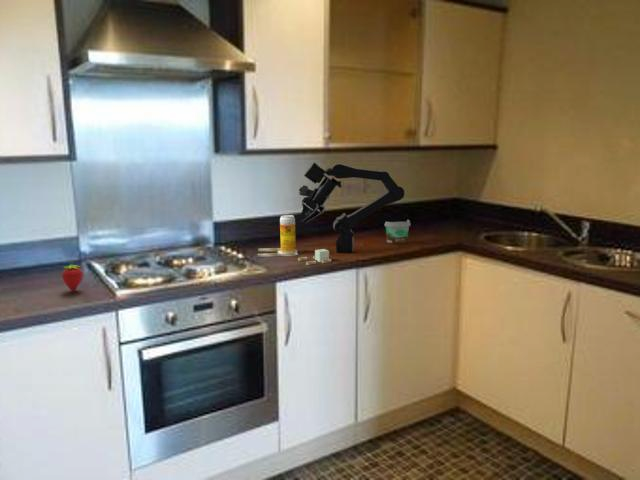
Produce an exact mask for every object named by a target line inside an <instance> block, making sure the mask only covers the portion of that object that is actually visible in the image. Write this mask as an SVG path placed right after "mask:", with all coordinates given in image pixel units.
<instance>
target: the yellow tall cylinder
mask: <svg viewBox="0 0 640 480" xmlns="http://www.w3.org/2000/svg"><path fill="white" fill-rule="evenodd" d="M279 229H280V230H279V231H280V232H279V233H280V248H281V251H282V253H294V252H295V251H296V250H297V249H296V248H297V245H296V218H295V216H294V215H293V214H284V215H280V218H279Z"/></svg>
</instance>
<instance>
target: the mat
mask: <svg viewBox="0 0 640 480" xmlns="http://www.w3.org/2000/svg"><path fill="white" fill-rule="evenodd" d="M277 253H282V251H277ZM294 253H295V256H298V255H299V253H298V250H297V249H296V251H295V252H294Z"/></svg>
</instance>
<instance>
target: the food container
mask: <svg viewBox="0 0 640 480" xmlns="http://www.w3.org/2000/svg"><path fill="white" fill-rule="evenodd" d="M384 227H385V232H386V233H385V234H386V235H385V236H386V244H387V243H388V245H392V244H403V245H406V243H407V244H408V237H409V230H410V227H411V221H410V220H409V219H407V220H405V221H385V223H384Z"/></svg>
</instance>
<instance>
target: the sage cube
mask: <svg viewBox="0 0 640 480" xmlns="http://www.w3.org/2000/svg"><path fill="white" fill-rule="evenodd" d="M314 256H315V259H314V261H316V260H317V261H316V262H319V263H322V260H325V259H330V250H328V249H326V248H321V249H315V250H314Z"/></svg>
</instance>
